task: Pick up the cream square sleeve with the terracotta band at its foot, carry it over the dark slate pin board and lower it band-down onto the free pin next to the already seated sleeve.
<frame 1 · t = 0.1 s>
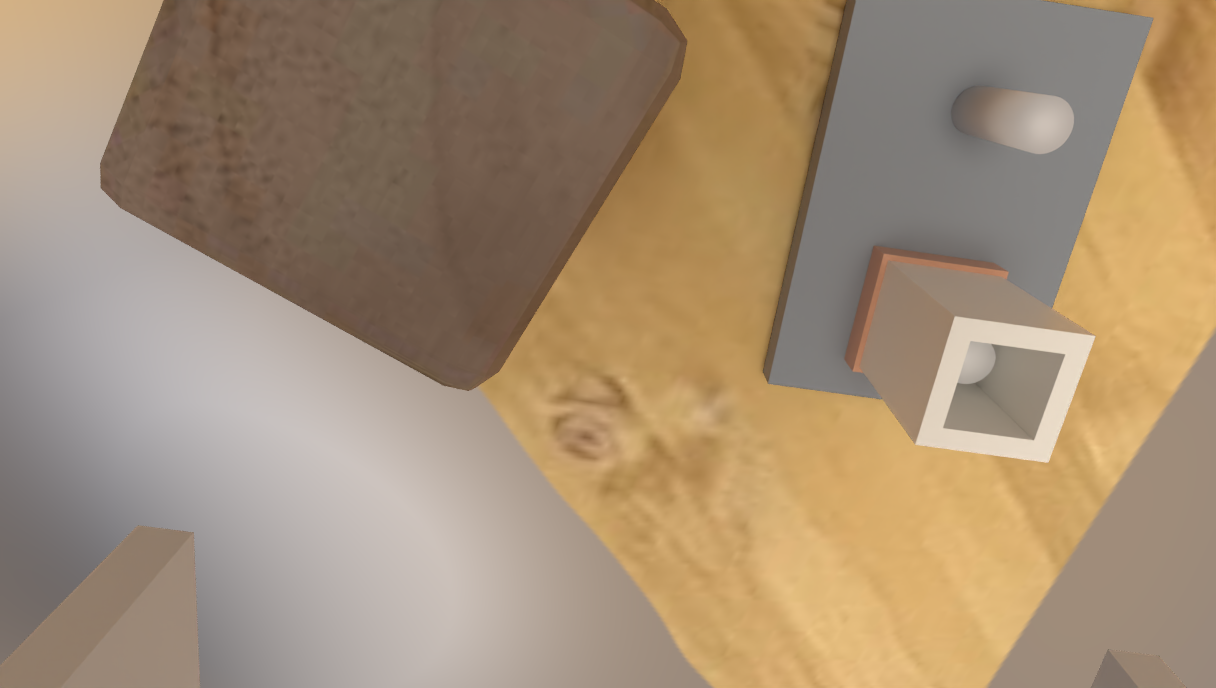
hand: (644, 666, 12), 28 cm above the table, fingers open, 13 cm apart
pin board: (933, 208, 37), on the table
wooden block: (503, 75, 36), on the table
sleeve b: (917, 312, 38), point 1 cm above the table, touching pin board
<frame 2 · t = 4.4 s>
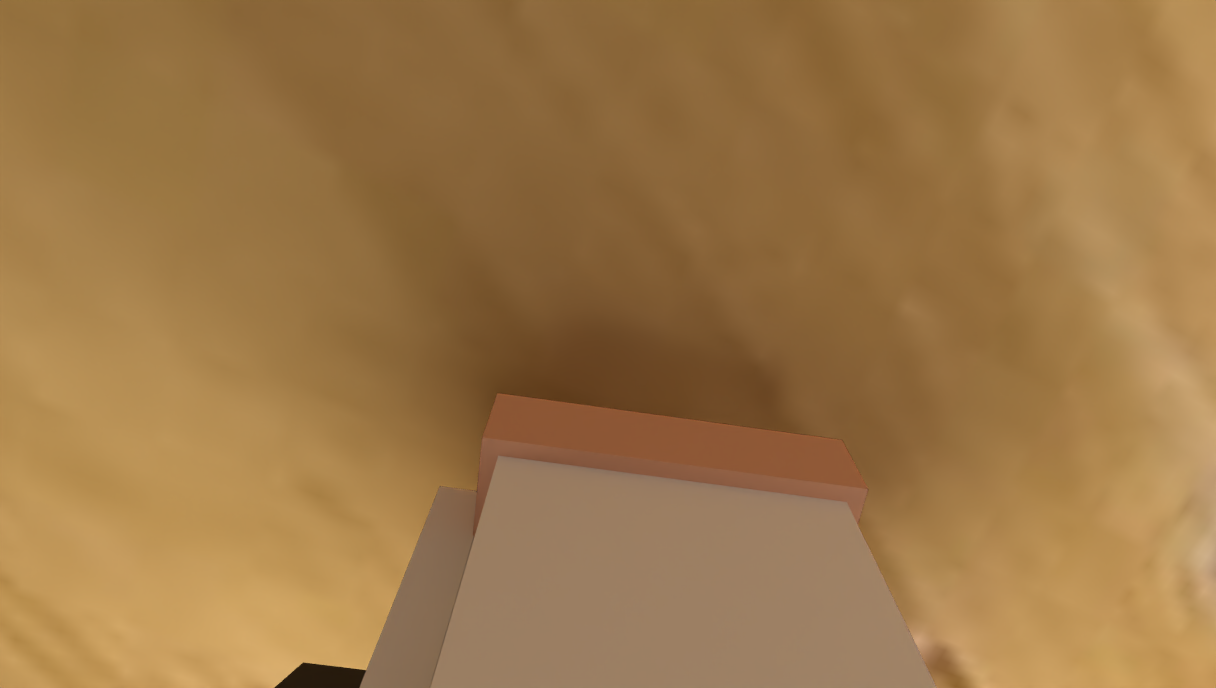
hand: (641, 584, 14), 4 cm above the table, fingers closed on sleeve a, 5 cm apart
sleeve a: (643, 561, 14), point 3 cm above the table, touching gripper
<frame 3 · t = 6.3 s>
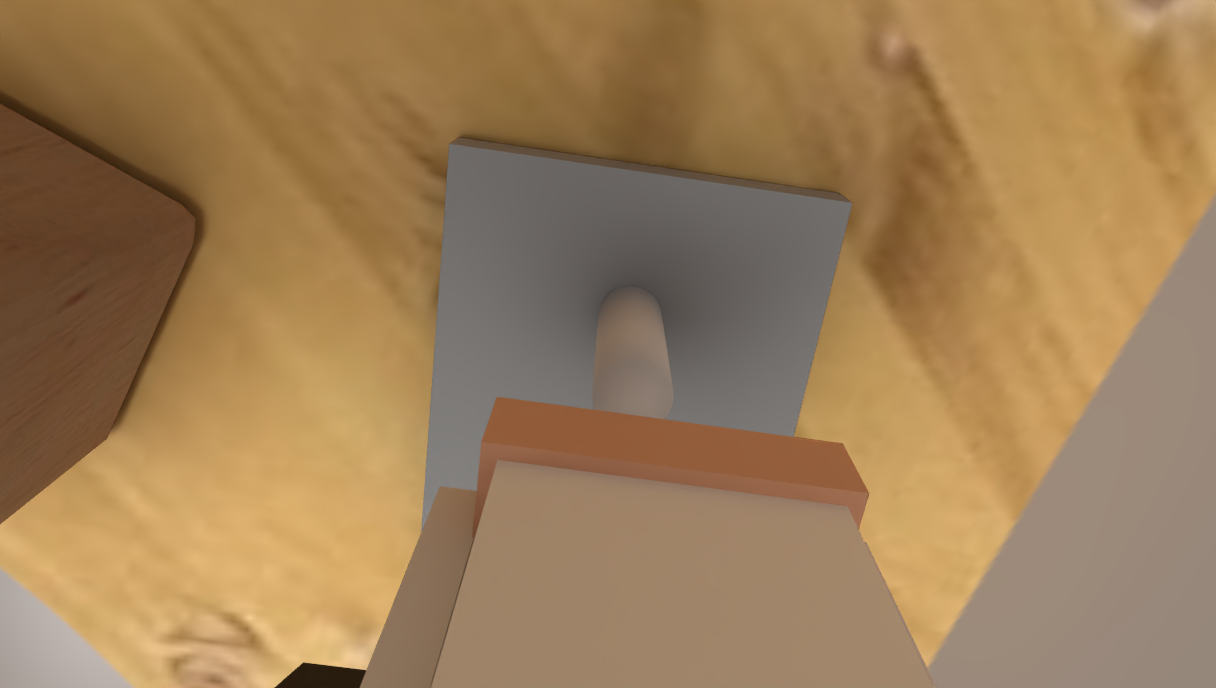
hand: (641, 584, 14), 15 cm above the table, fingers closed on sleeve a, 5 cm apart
pin board: (609, 422, 29), on the table
sleeve a: (643, 565, 14), point 14 cm above the table, touching gripper
wooden block: (23, 258, 27), on the table
when the fingers open (3 cm above the table, at t = 8.4 s): sleeve a drops 2 cm, resting on pin board.
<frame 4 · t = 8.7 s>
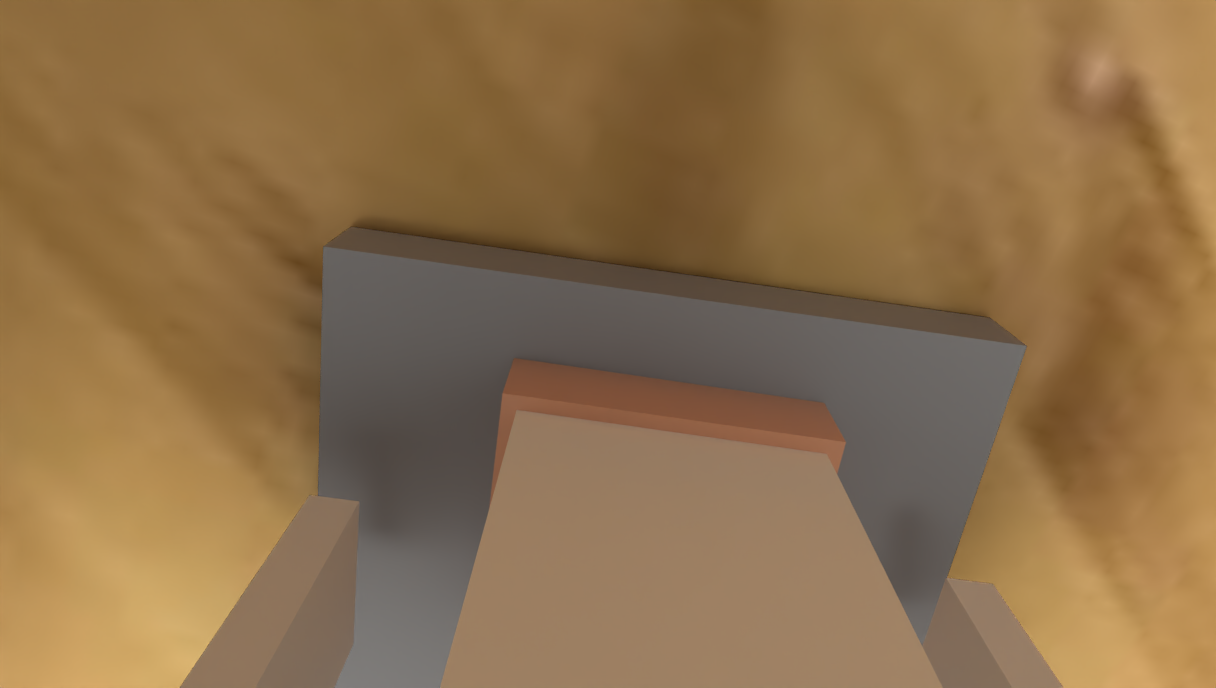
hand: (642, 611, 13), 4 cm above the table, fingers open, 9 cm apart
pin board: (606, 657, 18), on the table
sleeve a: (644, 514, 15), point 1 cm above the table, touching pin board
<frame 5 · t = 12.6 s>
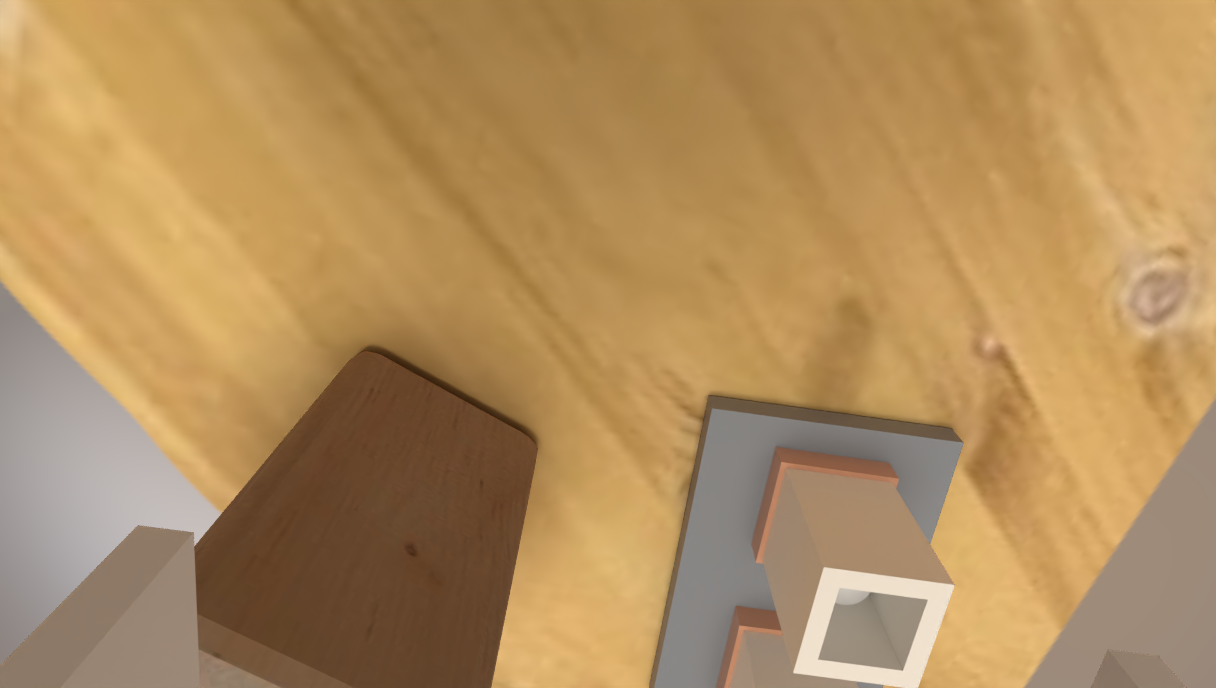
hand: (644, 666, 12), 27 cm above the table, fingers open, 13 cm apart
pin board: (790, 566, 43), on the table
sleeve a: (818, 504, 40), point 1 cm above the table, touching pin board
wooden block: (412, 463, 41), on the table
sleeve b: (776, 655, 43), point 1 cm above the table, touching pin board
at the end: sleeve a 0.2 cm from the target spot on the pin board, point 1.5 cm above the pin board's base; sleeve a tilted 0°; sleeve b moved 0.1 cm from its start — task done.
